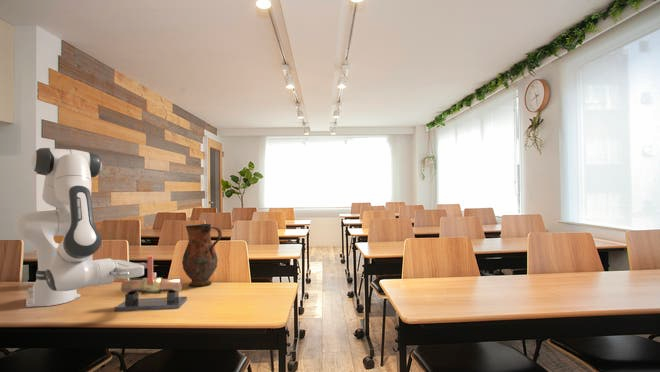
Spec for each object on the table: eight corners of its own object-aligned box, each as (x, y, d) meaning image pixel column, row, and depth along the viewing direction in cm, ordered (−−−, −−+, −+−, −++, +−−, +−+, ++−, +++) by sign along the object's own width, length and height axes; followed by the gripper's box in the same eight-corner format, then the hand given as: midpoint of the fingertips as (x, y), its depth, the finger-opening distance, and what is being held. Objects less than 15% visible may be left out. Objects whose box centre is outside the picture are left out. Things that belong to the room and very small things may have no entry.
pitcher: (197, 279, 189) (197, 222, 190) (231, 282, 182) (231, 223, 182) (174, 287, 174) (173, 225, 174) (209, 291, 166) (209, 226, 167)
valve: (114, 311, 139) (114, 282, 139) (127, 302, 150) (127, 275, 150) (178, 308, 141) (178, 280, 142) (186, 300, 152) (186, 273, 153)
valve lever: (148, 276, 147) (148, 250, 147) (156, 276, 148) (156, 250, 148) (145, 285, 132) (145, 257, 132) (154, 285, 133) (153, 256, 133)
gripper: (116, 265, 118) (158, 259, 129) (95, 259, 131) (135, 254, 142) (116, 285, 118) (158, 277, 128) (95, 276, 131) (135, 270, 141)
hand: (146, 265), depth 135 cm, fingers closed
